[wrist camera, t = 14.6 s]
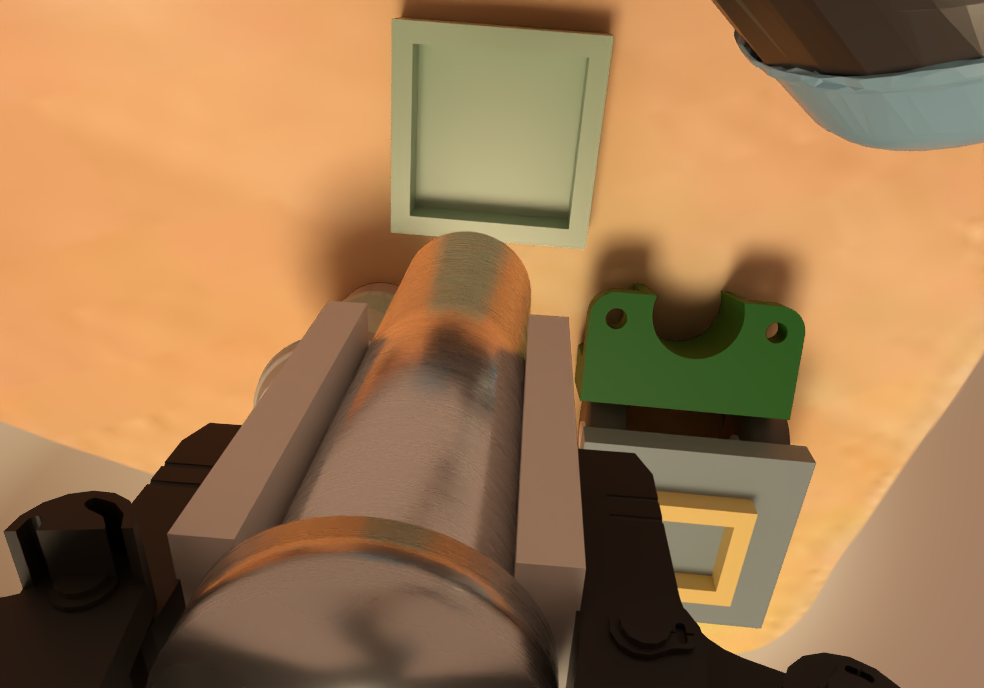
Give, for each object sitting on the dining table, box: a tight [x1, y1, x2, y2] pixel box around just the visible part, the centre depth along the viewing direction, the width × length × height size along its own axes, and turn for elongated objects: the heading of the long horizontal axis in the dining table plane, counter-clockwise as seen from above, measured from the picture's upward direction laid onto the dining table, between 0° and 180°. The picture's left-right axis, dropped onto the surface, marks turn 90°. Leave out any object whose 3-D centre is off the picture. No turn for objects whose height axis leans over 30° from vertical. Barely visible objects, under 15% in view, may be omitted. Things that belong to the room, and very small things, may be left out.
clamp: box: [575, 284, 805, 420], centre depth 40 cm, size 12×6×9 cm, turn 79°
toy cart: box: [577, 401, 816, 628], centre depth 42 cm, size 13×12×9 cm
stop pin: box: [146, 231, 559, 688], centre depth 13 cm, size 4×4×12 cm
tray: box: [391, 17, 614, 249], centre depth 37 cm, size 10×10×2 cm
